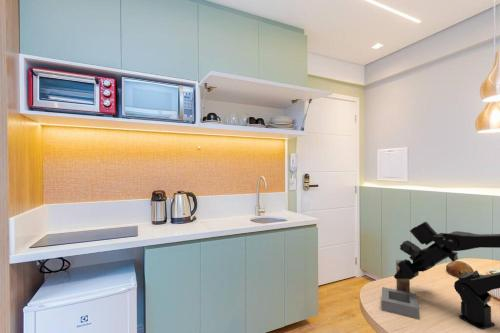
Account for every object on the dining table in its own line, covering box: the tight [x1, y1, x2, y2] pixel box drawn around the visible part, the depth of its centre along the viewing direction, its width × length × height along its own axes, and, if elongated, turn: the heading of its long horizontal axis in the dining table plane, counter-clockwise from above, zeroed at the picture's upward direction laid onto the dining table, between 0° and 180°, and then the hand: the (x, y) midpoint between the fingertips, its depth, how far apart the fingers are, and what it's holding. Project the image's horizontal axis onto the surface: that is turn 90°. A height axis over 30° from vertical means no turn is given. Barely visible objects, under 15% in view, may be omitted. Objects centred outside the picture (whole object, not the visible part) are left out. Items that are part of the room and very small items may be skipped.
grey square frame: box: [381, 286, 420, 320], centre depth 89 cm, size 11×11×4 cm
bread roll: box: [445, 260, 475, 279], centre depth 115 cm, size 10×10×8 cm
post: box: [395, 259, 411, 293], centre depth 98 cm, size 5×5×12 cm
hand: (400, 274), depth 99 cm, fingers open, 9 cm apart
